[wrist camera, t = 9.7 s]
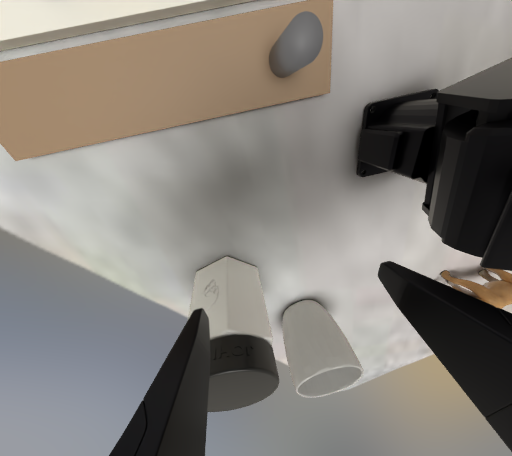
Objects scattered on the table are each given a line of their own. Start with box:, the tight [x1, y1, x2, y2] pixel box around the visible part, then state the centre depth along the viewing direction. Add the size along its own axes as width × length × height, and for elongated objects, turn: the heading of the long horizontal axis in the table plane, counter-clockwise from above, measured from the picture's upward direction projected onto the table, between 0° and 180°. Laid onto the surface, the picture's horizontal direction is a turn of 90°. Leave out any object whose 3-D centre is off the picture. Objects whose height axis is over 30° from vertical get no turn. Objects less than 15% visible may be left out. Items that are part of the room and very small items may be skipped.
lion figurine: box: [441, 268, 512, 309], centre depth 29 cm, size 15×5×9 cm, turn 107°
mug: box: [282, 300, 363, 397], centre depth 28 cm, size 13×9×10 cm
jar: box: [188, 256, 279, 412], centre depth 20 cm, size 9×8×12 cm
